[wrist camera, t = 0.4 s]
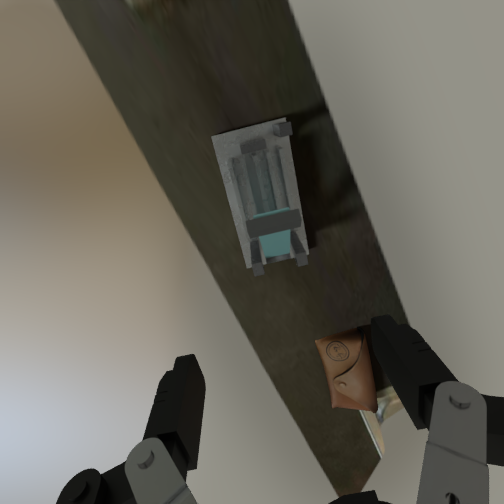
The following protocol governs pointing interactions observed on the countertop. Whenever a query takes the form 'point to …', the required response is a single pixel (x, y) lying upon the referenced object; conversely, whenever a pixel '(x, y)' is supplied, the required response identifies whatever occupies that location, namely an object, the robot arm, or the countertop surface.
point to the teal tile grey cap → (274, 232)
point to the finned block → (260, 183)
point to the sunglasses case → (348, 370)
